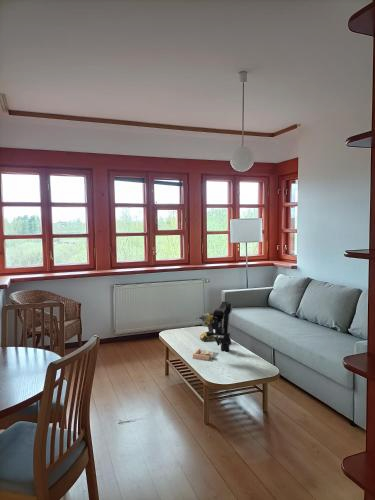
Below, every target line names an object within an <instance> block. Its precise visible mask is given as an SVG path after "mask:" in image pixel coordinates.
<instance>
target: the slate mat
mask: <svg viewBox="0 0 375 500" xmlns="http://www.w3.org/2000/svg"><path fill="white" fill-rule="evenodd" d="M202 351H203V350H201V349H200V353H201V352H202ZM207 351H208V352H210V351H209V350H207ZM211 352H212V353H213V358H212V359H209V360H206V362H207V361H208V362H213V361H214V360H215V358H216V357H218V355H219V354H220V352H215V351H214V352H213V351H211ZM200 353H199V355H200ZM194 359H195V360H197V359H196V358H193V360H194ZM199 360H200V361H201V360H202V359H199Z"/></svg>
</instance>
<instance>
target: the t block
mask: <svg viewBox="0 0 375 500" xmlns="http://www.w3.org/2000/svg"><path fill="white" fill-rule="evenodd" d="M208 351H209V350H206V349H205V350H202V352H201V353H200V355H206V356H209V359H212V358H213V353H212V352H213V351H209V352H208Z"/></svg>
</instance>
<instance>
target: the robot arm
mask: <svg viewBox="0 0 375 500" xmlns="http://www.w3.org/2000/svg"><path fill="white" fill-rule="evenodd" d="M232 310H233V305H232V304H231V303H229V302H228V301H222V302H221V304H220V305H219V307H218V308H215V310H214V311H213V312H212V313H213V319H212V320H214V321H213V323H212V325H211V327H212V328H213V331H209V330H208V331H206V332H207V333H206V336H209V337H210V336H211V335H214V337H213V338H215V340H214V341H215V342H216V344H217V346H220V351H221V352H223V353H224V352H226V353H227V352H230V350H231V349H230V348H231V347H230V345H232V339H231V338H232V334H231V333H230V332H229V328H230V327H229V324H230V315H231V313H232ZM214 317H217V318H214ZM213 332H214V333H213Z"/></svg>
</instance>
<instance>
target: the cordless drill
mask: <svg viewBox="0 0 375 500" xmlns="http://www.w3.org/2000/svg"><path fill="white" fill-rule="evenodd" d="M213 313H214V312H207V313H203V314H201V315H200V316H199V317H196V318H195V319H196V320H197V319H199V320H201V321H202V322H203V323H204V325H205V326H207V329H208V331H213V333H215V331H214V329H213V328H212V327H211V325H212V323H213V322H214V320H212V319H213ZM214 318H217V317H214ZM208 331H205V332H203V333H201V334H200V336H199V338H200V340H201V341H203V342H210V341H216V340H215V338H213V337H214V335H211V336H210V337H209V336H206V333H207V332H208Z"/></svg>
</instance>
